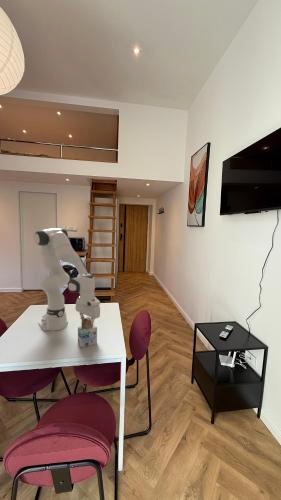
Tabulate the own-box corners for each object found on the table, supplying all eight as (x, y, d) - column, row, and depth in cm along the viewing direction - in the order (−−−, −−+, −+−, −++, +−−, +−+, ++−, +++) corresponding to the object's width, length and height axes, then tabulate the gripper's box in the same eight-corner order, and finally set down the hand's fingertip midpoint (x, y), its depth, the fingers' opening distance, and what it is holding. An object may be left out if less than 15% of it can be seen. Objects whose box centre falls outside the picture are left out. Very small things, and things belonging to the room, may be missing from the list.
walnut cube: (81, 326, 137) (81, 319, 137) (88, 324, 141) (88, 316, 141) (86, 329, 134) (86, 321, 134) (93, 326, 138) (93, 319, 137)
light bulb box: (81, 348, 133) (81, 331, 132) (77, 343, 138) (77, 326, 137) (97, 343, 139) (97, 326, 138) (93, 338, 144) (93, 322, 143)
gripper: (73, 297, 140) (73, 318, 141) (93, 305, 127) (93, 327, 129) (81, 295, 145) (81, 315, 146) (102, 302, 132) (101, 324, 134)
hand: (87, 321), depth 137 cm, fingers open, 8 cm apart
